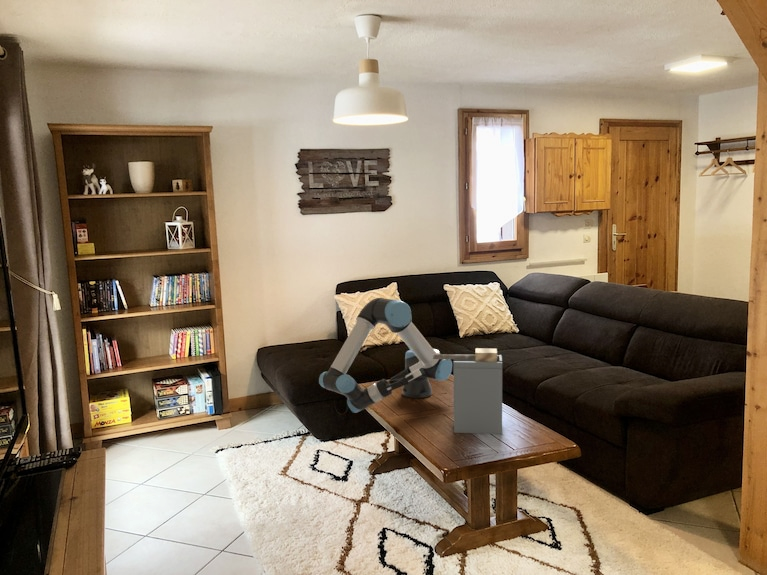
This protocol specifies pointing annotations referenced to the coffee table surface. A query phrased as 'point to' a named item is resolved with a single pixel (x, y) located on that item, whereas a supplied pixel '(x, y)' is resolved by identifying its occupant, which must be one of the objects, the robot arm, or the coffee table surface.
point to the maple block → (479, 356)
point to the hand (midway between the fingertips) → (421, 367)
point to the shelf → (478, 396)
